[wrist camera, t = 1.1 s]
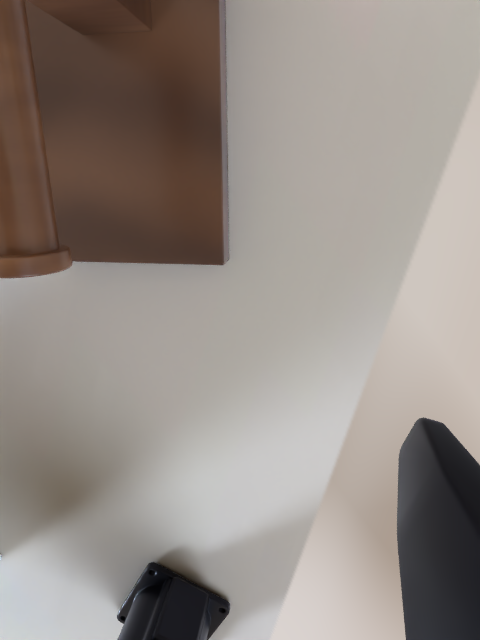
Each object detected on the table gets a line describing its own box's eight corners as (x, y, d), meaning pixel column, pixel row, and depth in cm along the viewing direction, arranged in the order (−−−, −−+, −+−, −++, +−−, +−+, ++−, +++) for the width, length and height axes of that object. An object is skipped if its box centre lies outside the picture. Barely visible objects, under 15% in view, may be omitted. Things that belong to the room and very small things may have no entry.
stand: (229, 259, 22) (132, 361, 10) (69, 256, 24) (-184, 342, 12) (225, -45, 18) (53, -476, 6) (30, -28, 20) (-427, -356, 7)
